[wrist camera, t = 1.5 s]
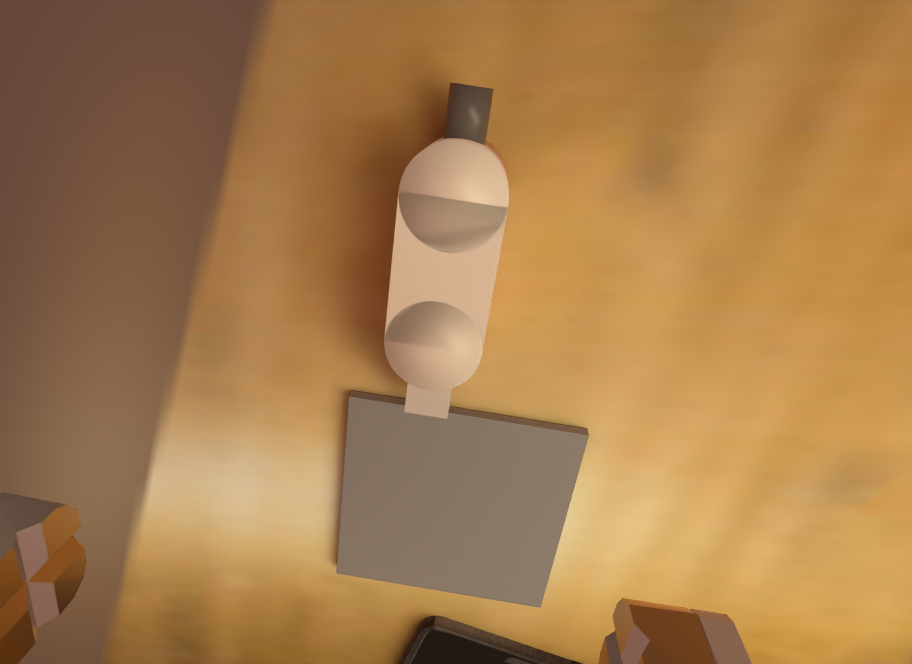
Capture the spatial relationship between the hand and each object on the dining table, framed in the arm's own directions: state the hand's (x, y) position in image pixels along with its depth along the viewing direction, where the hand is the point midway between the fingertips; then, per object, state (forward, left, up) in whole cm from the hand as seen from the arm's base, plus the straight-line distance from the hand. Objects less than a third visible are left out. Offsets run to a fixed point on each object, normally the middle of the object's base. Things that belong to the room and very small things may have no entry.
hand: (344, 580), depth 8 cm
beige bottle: (0, 0, -18) cm, 18 cm away
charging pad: (+14, +2, -18) cm, 23 cm away
